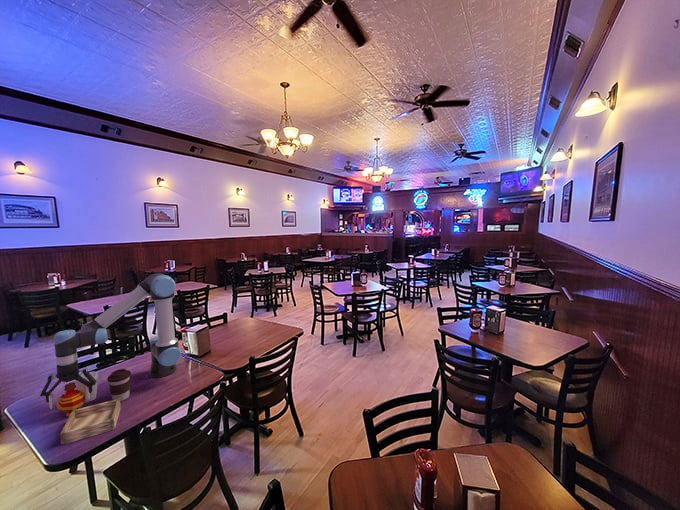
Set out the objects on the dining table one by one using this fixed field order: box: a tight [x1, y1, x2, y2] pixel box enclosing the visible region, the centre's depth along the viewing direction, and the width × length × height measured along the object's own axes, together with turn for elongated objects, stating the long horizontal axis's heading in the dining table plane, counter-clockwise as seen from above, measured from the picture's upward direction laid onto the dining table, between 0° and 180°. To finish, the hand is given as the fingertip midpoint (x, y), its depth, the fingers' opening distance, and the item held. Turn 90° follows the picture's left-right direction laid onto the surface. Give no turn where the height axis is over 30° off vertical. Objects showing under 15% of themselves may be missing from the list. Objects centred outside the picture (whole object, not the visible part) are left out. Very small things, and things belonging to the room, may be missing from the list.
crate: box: [59, 398, 122, 446], centre depth 132 cm, size 18×18×5 cm
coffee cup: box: [106, 368, 132, 402], centre depth 152 cm, size 10×10×15 cm
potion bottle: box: [56, 381, 86, 418], centre depth 140 cm, size 10×10×15 cm
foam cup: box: [74, 371, 99, 404], centre depth 151 cm, size 10×9×13 cm
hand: (70, 403), depth 140 cm, fingers open, 13 cm apart
